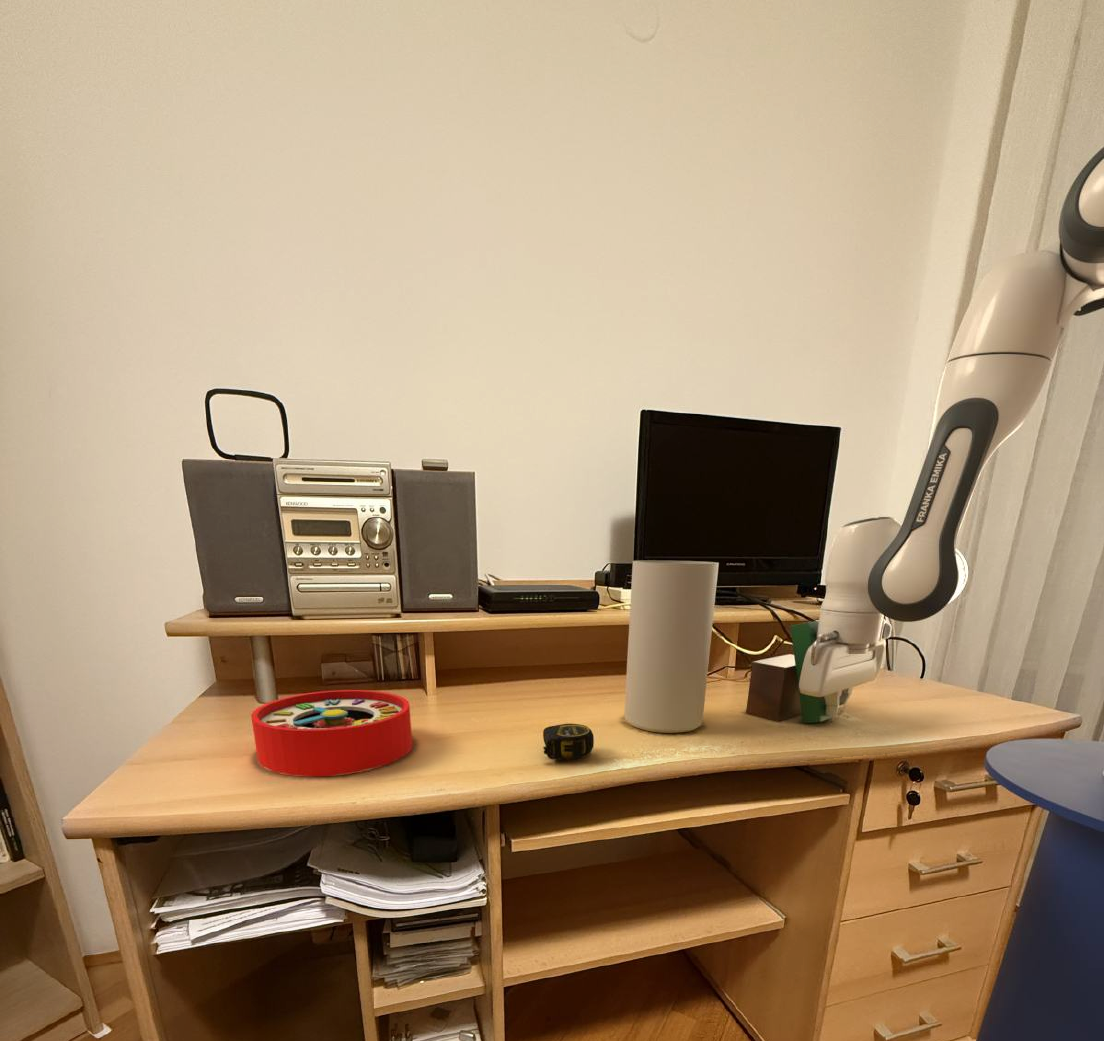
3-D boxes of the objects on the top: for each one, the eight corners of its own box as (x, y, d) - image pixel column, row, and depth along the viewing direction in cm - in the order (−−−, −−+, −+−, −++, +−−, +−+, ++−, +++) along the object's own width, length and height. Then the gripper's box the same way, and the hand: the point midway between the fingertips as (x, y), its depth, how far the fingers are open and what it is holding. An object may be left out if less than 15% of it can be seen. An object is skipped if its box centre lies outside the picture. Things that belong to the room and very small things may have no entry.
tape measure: (542, 746, 82) (542, 721, 81) (590, 747, 83) (591, 721, 81) (543, 764, 76) (543, 737, 75) (595, 764, 76) (596, 737, 75)
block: (813, 709, 103) (821, 659, 100) (777, 721, 96) (785, 667, 93) (782, 702, 108) (789, 654, 105) (745, 713, 100) (752, 661, 98)
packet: (831, 724, 99) (884, 661, 90) (812, 731, 95) (866, 666, 86) (773, 674, 105) (817, 612, 97) (753, 679, 101) (797, 614, 93)
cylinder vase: (608, 720, 95) (615, 560, 87) (657, 707, 103) (668, 560, 95) (668, 740, 86) (683, 564, 78) (717, 724, 94) (735, 563, 86)
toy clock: (439, 705, 80) (306, 742, 65) (441, 745, 82) (312, 790, 67) (353, 683, 92) (221, 710, 77) (356, 719, 94) (228, 752, 78)
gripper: (837, 637, 82) (822, 731, 86) (896, 626, 94) (881, 708, 98) (795, 632, 86) (782, 721, 91) (857, 622, 99) (843, 701, 103)
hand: (834, 714), depth 95 cm, fingers closed, pressing on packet
